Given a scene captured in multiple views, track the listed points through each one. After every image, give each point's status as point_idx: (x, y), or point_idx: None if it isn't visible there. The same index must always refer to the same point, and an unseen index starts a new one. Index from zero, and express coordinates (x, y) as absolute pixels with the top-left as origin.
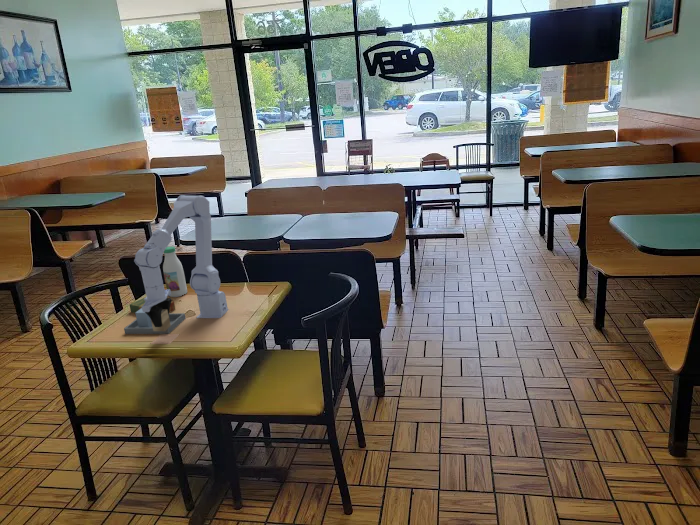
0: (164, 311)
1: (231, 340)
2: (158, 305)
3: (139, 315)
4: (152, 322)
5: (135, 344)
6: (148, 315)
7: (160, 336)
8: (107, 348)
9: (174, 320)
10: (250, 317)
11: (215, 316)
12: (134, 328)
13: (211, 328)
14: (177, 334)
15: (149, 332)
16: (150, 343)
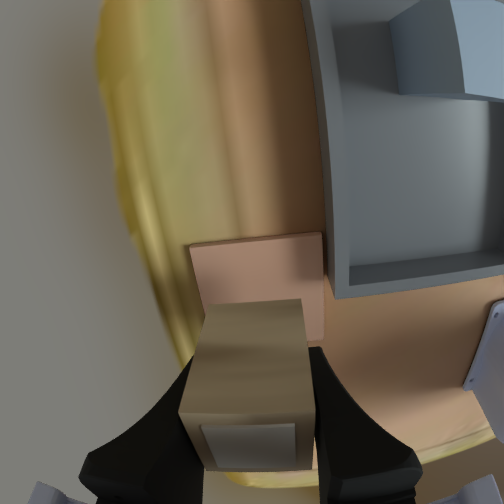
0: (266, 470)
1: (284, 471)
2: (323, 463)
3: (440, 25)
4: (197, 357)
5: (180, 139)
6: (132, 429)
7: (289, 252)
8: (111, 8)
9: (492, 207)
10: (440, 444)
11: (479, 372)
12: (316, 33)
13: (384, 404)
14: (319, 330)
15: (323, 151)
16: (191, 248)
